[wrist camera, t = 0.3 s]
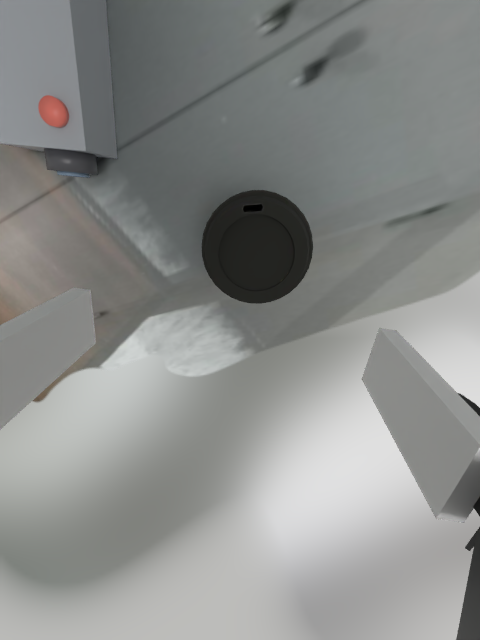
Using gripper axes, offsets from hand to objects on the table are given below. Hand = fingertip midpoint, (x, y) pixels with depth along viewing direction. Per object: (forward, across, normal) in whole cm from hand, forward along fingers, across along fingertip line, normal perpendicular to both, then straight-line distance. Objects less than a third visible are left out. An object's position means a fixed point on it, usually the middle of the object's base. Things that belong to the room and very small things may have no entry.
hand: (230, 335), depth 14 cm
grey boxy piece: (+27, -22, +15) cm, 39 cm away
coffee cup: (+28, +1, +1) cm, 28 cm away
